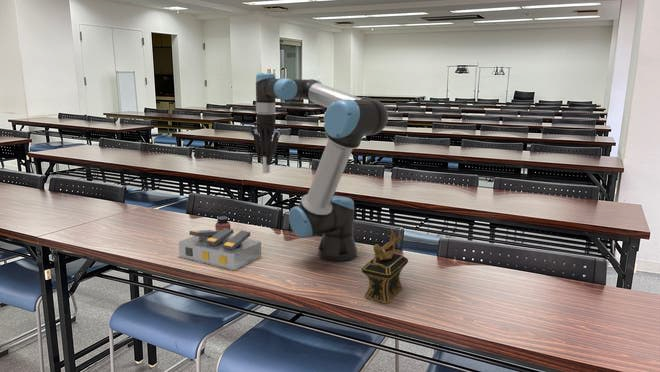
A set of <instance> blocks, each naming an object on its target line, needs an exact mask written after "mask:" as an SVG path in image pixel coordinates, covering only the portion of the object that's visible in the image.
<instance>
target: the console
mask: <svg viewBox="0 0 660 372" xmlns="http://www.w3.org/2000/svg"><path fill="white" fill-rule="evenodd" d="M212 236H213V235H212ZM212 236H193V235H192V236H190V237H187V238H185V239H183V240H180V241H178V255H179V258H183V259H187V260H190V261H195V262H197V263H198V262H199V263H203V264H207V265H210V266H214V267H219V268H221V269H227V270H231V271H233V272H234V271H237V270H238V269H240V268H242V267H244V266H246V265H248V264H249V263H252V262H253V261H256V260H258V259H259V258H261V257H262V241H261V240H260V241H259V240H255V239H250V238H247V239H246V240H244V241H243V242H242V243H241V244H240V245H238V246H237V247H236V248H235V249H234V250H233V251H232V250H228V249H224V248H223V245H224V244H225V243H226V242H228V241H229V240H230V239H231V238H233V237H234V236H235V235H233V234H231V235H230V236H228V237H227V238H225V239H224V240H223V241H221V242H220V243H218V244H217V245H215V246H214V245H209V244H206V240H207V239H209V238H210V237H212Z"/></svg>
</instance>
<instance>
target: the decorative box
mask: <svg viewBox="0 0 660 372" xmlns="http://www.w3.org/2000/svg"><path fill="white" fill-rule="evenodd" d="M390 230H391V232H390V233H391V235H390V237H389V241H388V242H386V243H384V245H382V246H380V244H377V243H376V244H373V251H374V254H373V258H372V259H371V260H369V261H368V262H367V263H366V264H365V265H364V266H362V267H361V273H363V274H364V275H365V276H366V277H367V279H368V281H369V282H368V283H369V284H368V289H367V291H366V292H365V295H364V297H366V299H367V298H369V299H368V300H370V299H373V300H372V301H374V300H376V301H375V302H378V301H379V303H382V302H384V303H383V304H389V303H391V302H392V301H393V299H395V298H396V296H398V294H400V293H401V292H402V290H403V289H404V288H403V285H402V283H401V280H400V275H401V272H402V270H403V268H405V266H407V264H408V263H409V258H407V257H406V256H404V255H402V254H401V253H400V254H399V253H395V250H396V244H398V243H399V242H400V241H401V240H402V238H403V235H402V234H401V235H400V236H397V237H396V233H395V232H394V230H393V229H392V228H390Z"/></svg>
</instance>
